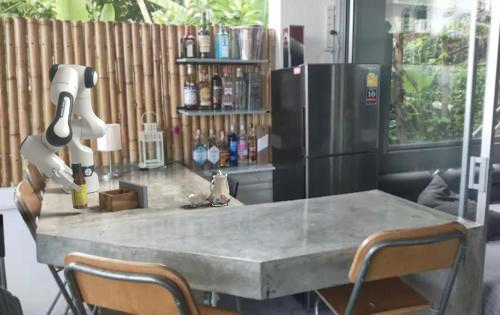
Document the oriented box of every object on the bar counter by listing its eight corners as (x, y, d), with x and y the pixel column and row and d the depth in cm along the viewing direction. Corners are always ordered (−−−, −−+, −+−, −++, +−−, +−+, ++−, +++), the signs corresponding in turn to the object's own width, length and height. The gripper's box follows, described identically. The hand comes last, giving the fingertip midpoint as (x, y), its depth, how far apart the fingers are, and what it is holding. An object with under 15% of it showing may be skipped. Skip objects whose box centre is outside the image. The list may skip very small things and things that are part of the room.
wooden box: (99, 207, 198) (98, 192, 197) (124, 202, 207) (123, 188, 206) (112, 212, 189) (112, 196, 188) (137, 206, 198) (137, 191, 197)
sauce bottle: (91, 206, 189) (88, 162, 186) (81, 210, 183) (78, 164, 180) (78, 205, 191) (76, 161, 188) (68, 209, 185) (65, 163, 182)
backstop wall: (119, 200, 210) (118, 180, 209) (123, 200, 212) (122, 180, 210) (144, 208, 195) (143, 186, 194) (148, 207, 196) (147, 186, 195)
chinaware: (215, 199, 220) (212, 167, 218) (244, 198, 212) (241, 165, 211) (184, 212, 195) (179, 175, 193) (215, 212, 187) (211, 174, 186)
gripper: (57, 165, 172) (84, 187, 177) (61, 158, 192) (86, 178, 196) (45, 177, 172) (73, 199, 176) (51, 169, 191) (76, 189, 195)
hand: (80, 188), depth 186 cm, fingers closed on sauce bottle, 6 cm apart
